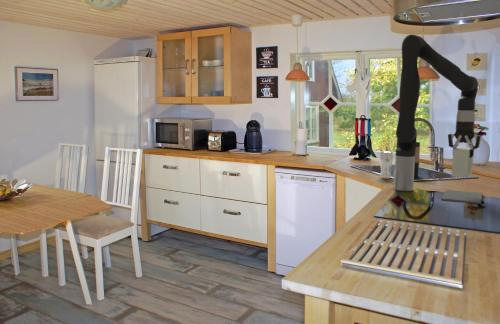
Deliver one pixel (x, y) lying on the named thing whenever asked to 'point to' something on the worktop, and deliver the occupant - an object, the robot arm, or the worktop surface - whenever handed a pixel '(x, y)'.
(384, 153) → the beer glass
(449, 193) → the mat
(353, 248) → the worktop surface
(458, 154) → the tall sage green block
